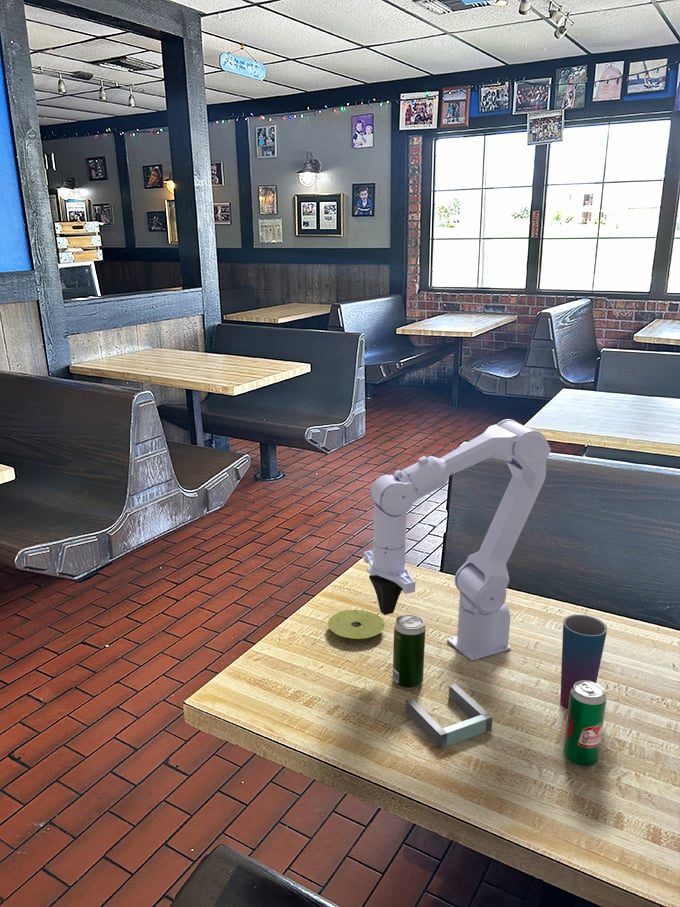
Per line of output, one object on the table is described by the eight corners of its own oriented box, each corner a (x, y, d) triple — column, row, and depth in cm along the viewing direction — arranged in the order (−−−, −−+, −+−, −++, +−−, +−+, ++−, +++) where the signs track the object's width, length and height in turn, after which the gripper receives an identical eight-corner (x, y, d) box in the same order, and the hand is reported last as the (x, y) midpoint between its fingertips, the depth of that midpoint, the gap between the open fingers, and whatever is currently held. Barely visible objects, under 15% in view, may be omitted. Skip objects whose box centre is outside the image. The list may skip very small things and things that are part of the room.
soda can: (578, 773, 105) (587, 702, 101) (555, 751, 109) (563, 683, 106) (605, 763, 106) (615, 694, 103) (581, 742, 111) (590, 675, 108)
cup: (597, 696, 122) (607, 618, 118) (597, 720, 116) (607, 639, 112) (555, 688, 124) (564, 611, 120) (553, 711, 118) (562, 631, 114)
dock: (454, 696, 122) (455, 683, 121) (491, 730, 114) (492, 716, 113) (405, 712, 118) (405, 699, 117) (439, 749, 109) (440, 735, 108)
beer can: (405, 695, 122) (407, 632, 119) (386, 679, 127) (388, 619, 123) (429, 685, 125) (432, 624, 122) (409, 670, 129) (412, 610, 126)
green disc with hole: (336, 614, 149) (336, 605, 148) (389, 622, 146) (389, 613, 145) (320, 642, 138) (320, 633, 138) (377, 651, 135) (377, 642, 135)
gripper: (349, 532, 130) (348, 599, 134) (391, 563, 118) (388, 636, 121) (383, 526, 133) (381, 591, 137) (427, 555, 121) (423, 626, 125)
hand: (387, 612), depth 129 cm, fingers closed
